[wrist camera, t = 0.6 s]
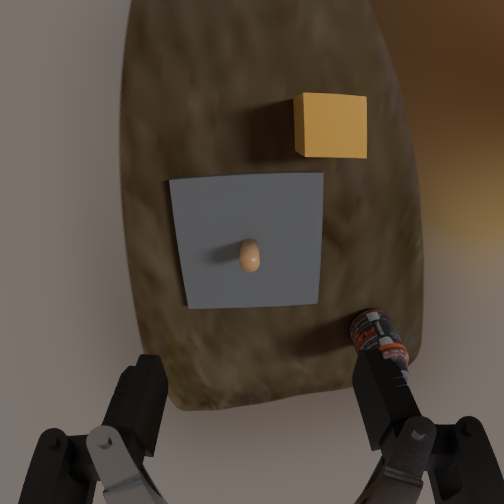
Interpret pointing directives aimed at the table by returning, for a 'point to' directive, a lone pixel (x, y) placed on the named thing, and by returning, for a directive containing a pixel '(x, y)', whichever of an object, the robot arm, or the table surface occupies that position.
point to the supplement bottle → (379, 337)
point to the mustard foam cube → (330, 125)
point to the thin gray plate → (249, 238)
